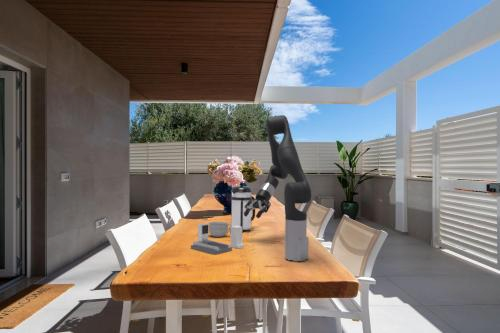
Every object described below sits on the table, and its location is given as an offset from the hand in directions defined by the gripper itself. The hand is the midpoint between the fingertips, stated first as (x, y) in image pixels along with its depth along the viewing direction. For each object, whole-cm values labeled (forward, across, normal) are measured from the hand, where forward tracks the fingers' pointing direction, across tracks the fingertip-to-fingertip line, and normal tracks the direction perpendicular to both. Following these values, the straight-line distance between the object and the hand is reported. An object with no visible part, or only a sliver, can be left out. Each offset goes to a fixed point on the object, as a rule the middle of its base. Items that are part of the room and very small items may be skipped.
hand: (251, 216), depth 182 cm
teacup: (+9, -24, +11) cm, 28 cm away
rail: (+26, -4, -7) cm, 27 cm away
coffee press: (-6, -28, +26) cm, 39 cm away
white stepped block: (+18, 0, +2) cm, 18 cm away
